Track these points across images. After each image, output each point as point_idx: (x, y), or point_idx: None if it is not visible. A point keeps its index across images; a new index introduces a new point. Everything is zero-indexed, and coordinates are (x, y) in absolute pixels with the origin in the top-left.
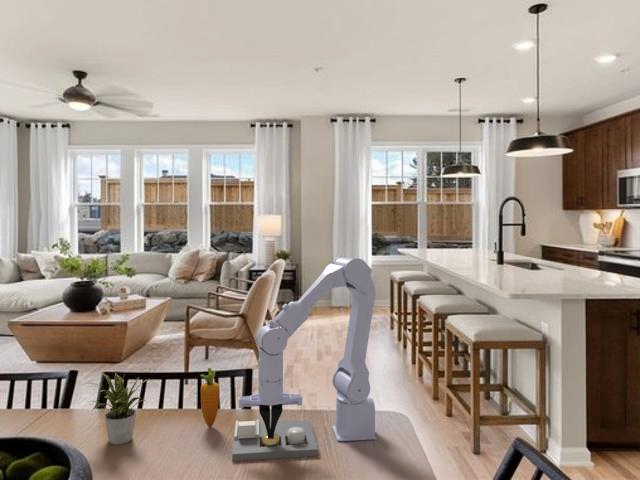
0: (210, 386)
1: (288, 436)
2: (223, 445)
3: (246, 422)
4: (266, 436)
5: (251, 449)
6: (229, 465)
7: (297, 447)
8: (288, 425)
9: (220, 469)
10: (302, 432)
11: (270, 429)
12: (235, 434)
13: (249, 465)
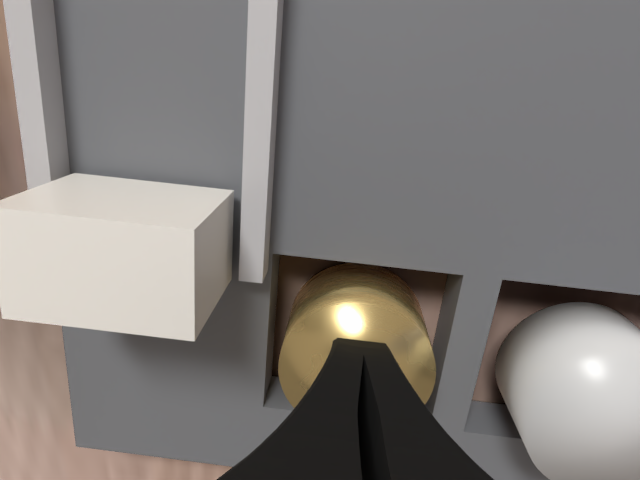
0: None
1: (513, 416)
2: (3, 198)
3: (86, 249)
4: (319, 368)
5: (202, 423)
6: (91, 451)
7: (538, 470)
8: (624, 42)
9: (48, 475)
10: None
11: (362, 367)
12: None
13: (204, 477)
